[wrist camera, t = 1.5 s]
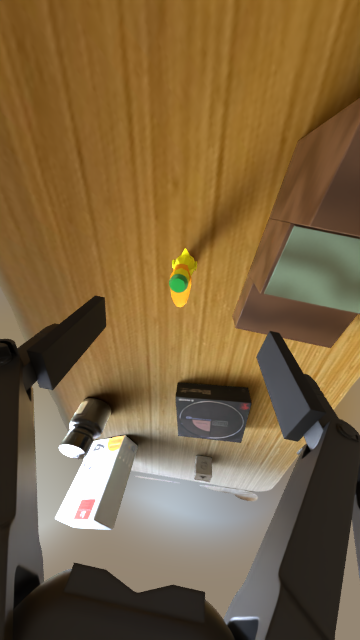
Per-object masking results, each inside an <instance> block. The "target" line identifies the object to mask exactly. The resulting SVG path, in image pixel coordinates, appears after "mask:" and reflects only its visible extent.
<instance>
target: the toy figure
mask: <svg viewBox="0 0 360 640" xmlns="http://www.w3.org/2000/svg"><path fill="white" fill-rule="evenodd" d="M172 266H173V269H174V270H173V272H172V274H171V276H170V281H169V285H170V289H171V296H172V299H173V302H174V303H175V305H176V306H178V307H183V306H184V304H185V303H186V302H187V299H188V297H189V293H190V288H191V280H192V278H191V275H192V273H193V271H194V270H195V271H196V269H197V261H194V258H193V257H192V256H190V255H189V253H188V251H187V249H186V248H185V250H184V251H183V253H182V254H181V256H178V258H177V260H176V263H175V259H174V260H172Z"/></svg>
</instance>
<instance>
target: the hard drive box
mask: <svg viewBox="0 0 360 640" xmlns="http://www.w3.org/2000/svg"><path fill="white" fill-rule="evenodd" d="M137 448H138V446H137V445H136V444H135V443H134V442H132V441H131V440H130V439H129V438H128V437H127V436H126V435H124V436H117V437H113V438H108V439H101V440H97V441H94V442H93V444H92V446H91V448H90V450H89V452H88V454H87V456H86V458H85V459H84V461H83V463H82V465H81V467H80V469H79V471H78V473H77V475H76V477H75V479H74V481H73V483H72V485H71V487H70V489H69V491H68V493H67V495H66V498H65V499H64V501H63V504H62V506H61V507H60V509H59V512H58V513H57V516H56V517H55V519H57V520H59V521H61V522H63V523H65V524H67V525H69V526H71V527H73V528H87V529H105V530H112V529H113V528H114V525H115V521H116V518H117V515H118V511H119V508H120V504H121V501H122V498H123V494H124V491H125V488H126V484H127V481H128V478H129V474H130V471H131V468H132V465H133V461H134V458H135V455H136V451H137Z"/></svg>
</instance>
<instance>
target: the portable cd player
mask: <svg viewBox="0 0 360 640" xmlns="http://www.w3.org/2000/svg"><path fill="white" fill-rule="evenodd" d="M250 407H251V398H250V394H249V390H248V388H245V387H232V386H218V385H205V384H192V383H178V385H177V391H176V410H177V424H178V436H184V437H193V438H202V439H211V440H220V441H230V442H239V443H241V441H242V438H243V434H244V430H245V426H246V422H247V419H248V415H249V411H250Z"/></svg>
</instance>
